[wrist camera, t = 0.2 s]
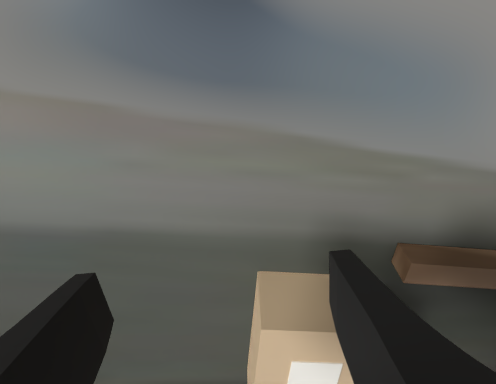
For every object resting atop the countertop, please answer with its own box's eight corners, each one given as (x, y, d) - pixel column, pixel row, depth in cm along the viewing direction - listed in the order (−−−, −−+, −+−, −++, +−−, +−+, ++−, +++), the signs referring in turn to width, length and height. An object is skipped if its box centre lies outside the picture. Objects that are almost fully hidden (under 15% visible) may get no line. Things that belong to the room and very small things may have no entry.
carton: (333, 369, 28) (350, 436, 24) (247, 366, 28) (248, 434, 24) (360, 273, 24) (387, 335, 19) (257, 268, 24) (261, 330, 19)
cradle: (505, 404, 31) (521, 428, 29) (342, 396, 30) (348, 420, 28) (612, 258, 23) (642, 279, 21) (398, 243, 22) (411, 263, 21)
